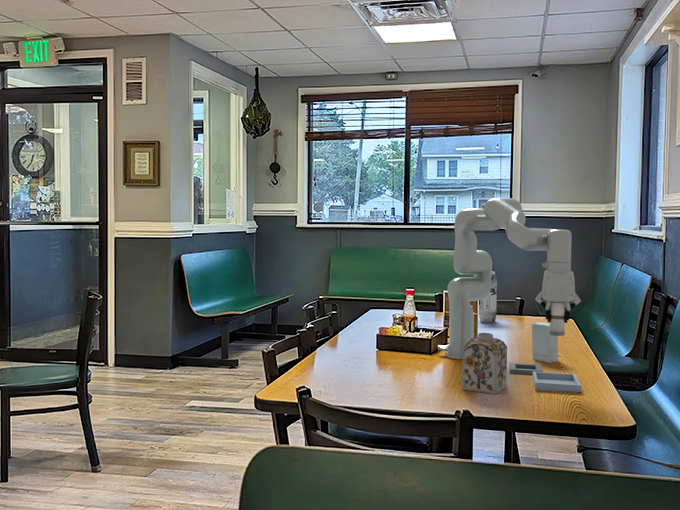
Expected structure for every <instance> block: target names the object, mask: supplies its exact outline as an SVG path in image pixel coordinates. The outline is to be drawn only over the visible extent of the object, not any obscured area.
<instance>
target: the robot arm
mask: <svg viewBox="0 0 680 510" xmlns="http://www.w3.org/2000/svg"><path fill="white" fill-rule="evenodd" d="M526 221H527V220H526V214H525V213H524V212H523V208H522V204H521V203H520V202H519V201H518V200H517V199H515V198H511V197H510V198H507V197H493V198H490V199H488V200H487V201H486V202H485V203H484V205H483V208H480V207H479V208H474V207H473V208H465V209H463V210H460V211H459V212H457V215H456V216H455V220H454V224H453V225H454V227H453V228H454V236H455V239H454V240H455V241H454V252H453V253H454V254H453V270H454V271H455V273H456V274H459V275H473V277H471V276H465V277H456V278H453V279H452V280H450V281H449V282H448V285H447V288H446V289H447V296H448V303H449V326H448V327H449V331H448V333H449V334H448V335H449V336H448V337H449V338H448V344H446V345H442V344H438V345H437V350H438V351H440V352H441V351H442V352H444V351H445V352H444V356H445V357H446V358H449V359H453V360H463V348H464V346H465V344H466V342H467V340H468V339H471V338H474V336H475V335H474V329H475V328H474V327H475V320H474V319H475V317H474V316H475V313H474V312H475V311H474V308H473V306H472V305H471V302H477V301H478V302H479V300H484V299H486V298H487V297H488V295H489V292H490V286H491V275H492V271H493V259H492V257H491V255H490V253H489V252H487V251H485V250H481V249H479V250H478V248H477V247H478V237H477V235H476V234H475V231H481V232H482V231H489V232H490V231H497V230H500V229H503V230H505V232H506V235H507V238H508V240H509V241H510V242H511V243H513V244H514V245H515V246H517V247H518V248H520V249H521V250H524V251H529V252H532V251H533V252H534V251H535V252H536V251H540V252H545V251H546V262H542V264H541V266H542V267H541V268H545V269H546V270H544V273H543V278H542V286H541V291H540V292H539V293H538V294H537V295H536V297H535V299H534V300H535V301H536V303H538V304H540V305H541V306H542V307H543V308H544V309H545V320H547V323H550V318H551V310H550V304H551V302H565V324H567V323H568V321H570V313H571V310H572V309H573V308H574V307H576V306H577V305H578V304H580V303H581V302H582V300H581V299H580V297H579V295H578V294H577V292H576V288H575V286H576V285H575V283H576V282H575V276H574V271H572V270H571V269H572V267H571V266H572V239H573V237H572V232H571V231H570V230H569V229H553V228H539V227H538V228H535V227H531V228H530V227H527V226H525V223H526ZM541 298H542V299H543V300H542V299H541Z"/></svg>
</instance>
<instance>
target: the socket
mask: <svg viewBox="0 0 680 510" xmlns="http://www.w3.org/2000/svg"><path fill="white" fill-rule="evenodd" d="M533 371H534V372H544V371H543V368H542V364H539V363H538V364H537V363H521V362H509V374H515V375H516V374H517V375H529V376H531V375H532V376H533Z"/></svg>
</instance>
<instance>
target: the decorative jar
mask: <svg viewBox="0 0 680 510" xmlns="http://www.w3.org/2000/svg"><path fill="white" fill-rule="evenodd" d="M477 335H478V336H477V337H473V338H471V339H468V340H467V342H466V344H465V346H464V348H463V359H462V372H461V373H462V374H461V389H462V390H463V391H469V392H476V393H482V394H490V395H497V394H498V393H500V392H501V391H503V390H504V389H505V388H507V386H508V385H507V383H508V382H507V381H508V380H507V379H508V346H507V344H506V343H505V341H504V340H502V339H500V338H496V337H494V336H493V335H494V334H493V333H489V332H478V334H477Z"/></svg>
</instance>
